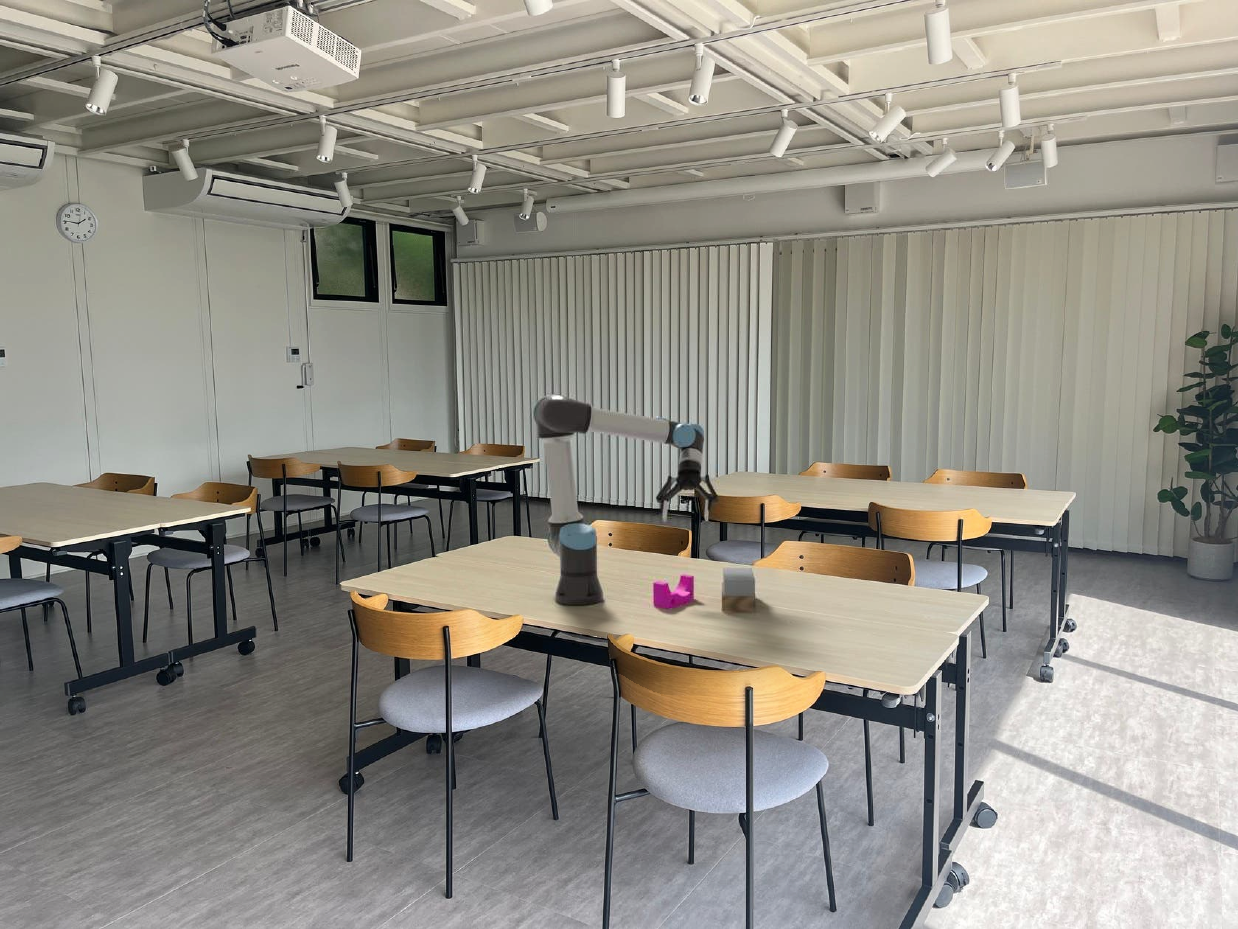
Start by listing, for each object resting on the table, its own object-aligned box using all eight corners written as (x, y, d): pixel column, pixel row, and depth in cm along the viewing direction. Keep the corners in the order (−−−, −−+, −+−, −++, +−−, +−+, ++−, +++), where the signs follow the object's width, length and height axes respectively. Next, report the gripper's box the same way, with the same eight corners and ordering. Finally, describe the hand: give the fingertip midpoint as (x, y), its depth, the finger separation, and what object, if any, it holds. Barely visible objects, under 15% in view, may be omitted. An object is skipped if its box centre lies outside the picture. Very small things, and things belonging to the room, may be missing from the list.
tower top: (724, 596, 274) (724, 580, 274) (723, 583, 290) (723, 567, 290) (754, 596, 274) (755, 580, 273) (751, 583, 290) (751, 568, 289)
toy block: (668, 610, 277) (668, 586, 277) (653, 606, 282) (653, 582, 281) (700, 600, 288) (699, 577, 287) (684, 597, 292) (684, 574, 292)
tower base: (721, 613, 274) (721, 597, 274) (722, 597, 292) (722, 582, 291) (755, 614, 273) (755, 597, 272) (753, 598, 291) (753, 583, 290)
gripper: (729, 470, 304) (725, 525, 292) (655, 472, 310) (649, 526, 298) (726, 457, 298) (722, 512, 286) (651, 460, 305) (644, 513, 293)
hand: (685, 519), depth 292 cm, fingers open, 13 cm apart
